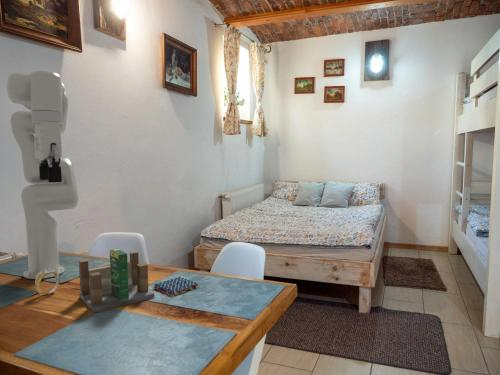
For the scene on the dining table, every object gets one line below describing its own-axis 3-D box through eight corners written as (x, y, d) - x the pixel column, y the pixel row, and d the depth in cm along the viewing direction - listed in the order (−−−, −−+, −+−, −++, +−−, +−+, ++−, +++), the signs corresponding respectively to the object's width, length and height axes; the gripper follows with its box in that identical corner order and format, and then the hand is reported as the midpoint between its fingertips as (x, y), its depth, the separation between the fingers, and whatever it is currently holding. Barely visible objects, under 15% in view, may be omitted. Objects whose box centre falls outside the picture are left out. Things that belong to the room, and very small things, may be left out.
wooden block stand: (79, 297, 111) (77, 260, 110) (135, 284, 122) (134, 250, 121) (94, 312, 100) (92, 271, 99) (154, 297, 111) (153, 260, 110)
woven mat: (151, 290, 118) (151, 283, 118) (179, 281, 126) (178, 275, 126) (172, 298, 111) (172, 292, 111) (199, 289, 119) (199, 282, 119)
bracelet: (38, 298, 110) (37, 271, 110) (33, 295, 112) (32, 269, 112) (62, 291, 116) (61, 266, 115) (57, 289, 118) (56, 264, 117)
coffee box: (110, 292, 111) (108, 249, 110) (120, 290, 113) (118, 247, 112) (119, 301, 105) (117, 255, 104) (129, 299, 107) (127, 253, 105)
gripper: (25, 119, 108) (28, 179, 109) (39, 116, 95) (43, 184, 96) (54, 120, 112) (56, 178, 114) (71, 117, 99) (74, 182, 101)
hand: (50, 180), depth 105 cm, fingers open, 9 cm apart
